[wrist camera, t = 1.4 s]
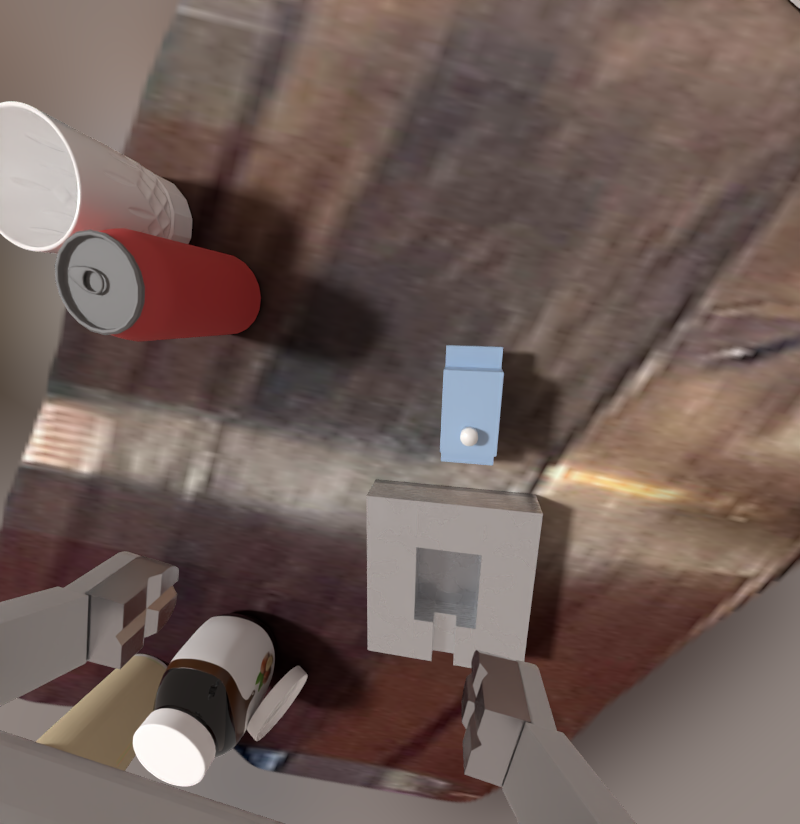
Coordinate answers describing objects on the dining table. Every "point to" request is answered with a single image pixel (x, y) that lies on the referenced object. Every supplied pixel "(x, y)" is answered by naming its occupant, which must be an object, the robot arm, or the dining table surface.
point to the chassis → (450, 570)
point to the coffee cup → (110, 714)
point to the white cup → (76, 185)
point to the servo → (471, 404)
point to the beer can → (153, 286)
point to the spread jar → (214, 698)
